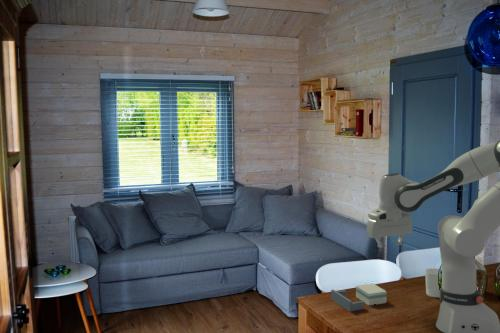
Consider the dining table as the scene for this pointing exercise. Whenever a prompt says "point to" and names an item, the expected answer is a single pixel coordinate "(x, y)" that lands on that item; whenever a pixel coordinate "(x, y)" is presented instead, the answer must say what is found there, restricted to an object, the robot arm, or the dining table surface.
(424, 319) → the dining table surface
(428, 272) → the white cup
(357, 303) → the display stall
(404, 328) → the dining table surface
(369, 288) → the cream rectangular block
